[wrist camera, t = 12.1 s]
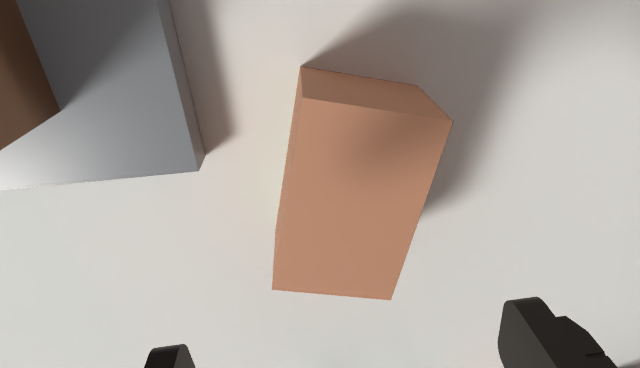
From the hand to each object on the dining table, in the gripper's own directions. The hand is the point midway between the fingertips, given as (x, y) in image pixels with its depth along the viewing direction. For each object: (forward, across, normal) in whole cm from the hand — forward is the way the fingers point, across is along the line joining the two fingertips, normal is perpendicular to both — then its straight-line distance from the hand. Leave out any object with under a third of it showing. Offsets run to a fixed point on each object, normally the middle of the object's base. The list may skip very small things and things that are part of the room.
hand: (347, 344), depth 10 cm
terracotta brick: (+10, -1, 0) cm, 10 cm away
